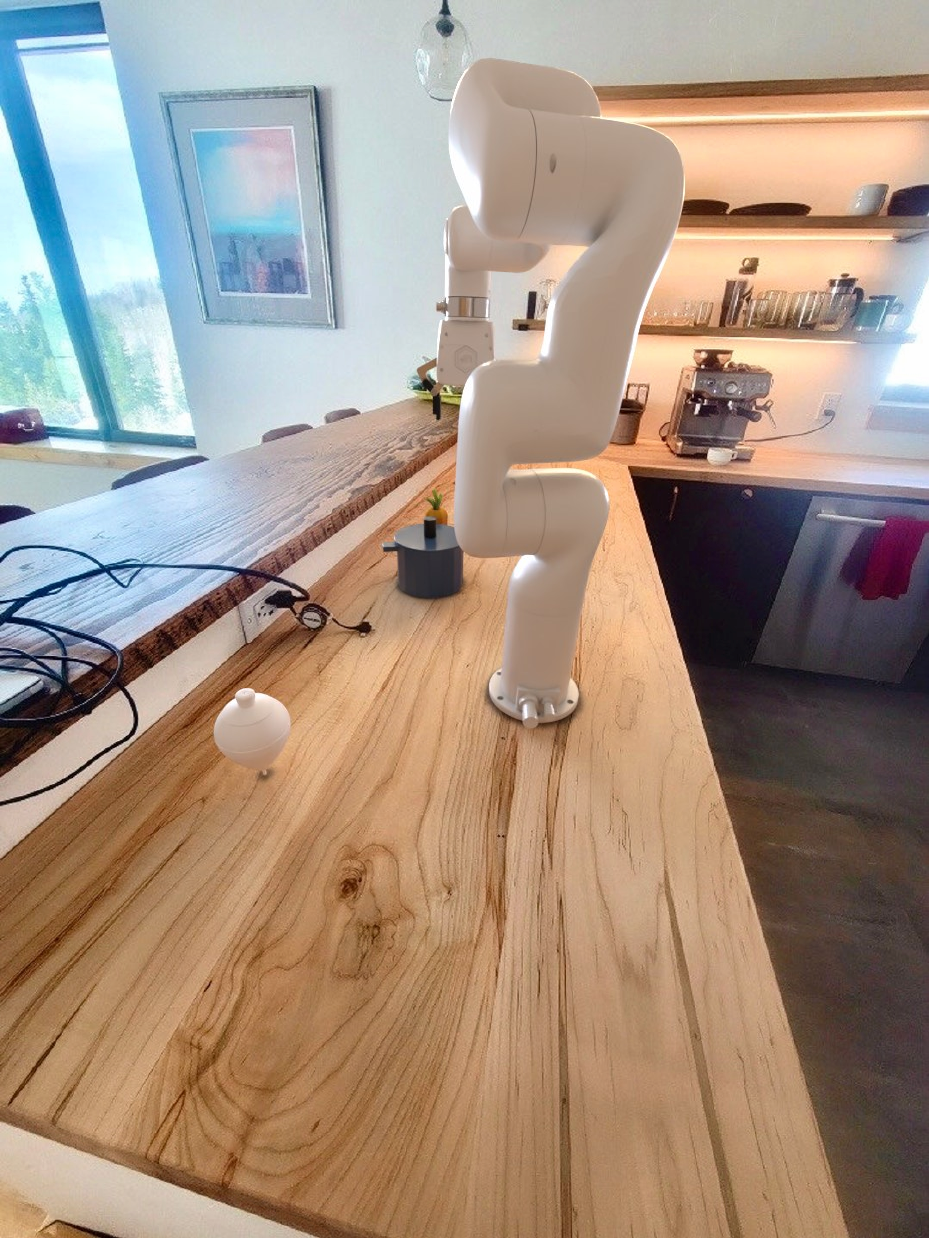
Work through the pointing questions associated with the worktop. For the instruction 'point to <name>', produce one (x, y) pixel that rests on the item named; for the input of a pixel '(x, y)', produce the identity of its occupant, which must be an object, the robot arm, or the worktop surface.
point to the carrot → (437, 509)
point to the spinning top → (252, 729)
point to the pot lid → (427, 537)
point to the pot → (428, 571)
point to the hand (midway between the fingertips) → (464, 420)
